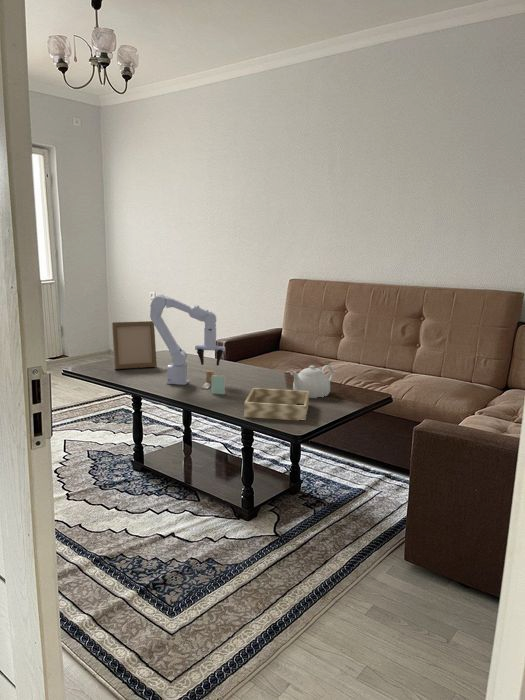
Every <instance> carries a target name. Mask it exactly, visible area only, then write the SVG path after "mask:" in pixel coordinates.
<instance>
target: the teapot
mask: <svg viewBox="0 0 525 700" xmlns="http://www.w3.org/2000/svg"><path fill="white" fill-rule="evenodd" d="M326 368H328V369H329V370H330V376H329V378H328V376H327V375H326V373H325V370H326ZM334 375H335V373H334V369H333V368H332V366H330V365H328V364H326V365H323V366H322V368H321V369H320V368H318V367H316V366H315V365H309V367H306V368H304V369H301V370H300V371H299V373H298V372H297V371H291V372H290V376H293V384H292V390H297V391H309V399H318V398H317V397H322V398H325V397H327V396H328V395H329V394H330V392H331V381H332V380H333V378H334ZM324 396H325V397H324Z"/></svg>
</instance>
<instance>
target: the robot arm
mask: <svg viewBox="0 0 525 700" xmlns="http://www.w3.org/2000/svg"><path fill="white" fill-rule="evenodd" d="M149 306H150V312H149V313H150V315H149V316H150V317H149V318H150V320H151V321H152V322H153V324H154V328H155V329H156V330H157V332H158V334H159V336H160V337H161V339H162V340H163V342H164V344H165V346H166V347H167V349H168V352H169V354H170V356H171V359H172V360H171V361H172V363H171V364H168V365H167V368H166V384H167V385H182V386H183V385H184V386H186V385H187V384H188V383H189V382H190V379H188V363H186V359H187V358H188V357H187V353H186V351H184V350H183V349H182V348H181V347H180V345H179V344H178V342H177V341H176V339H175V337H174V336H173V334H172V332H171V331H170V329H169V327H168V325H167V324H166V323H165V321H164V318H163V317H162V314H163V312H164V311H163V310H164V309H165V308H166V309H168V308H174V309H177V310H179V311H182V312H185V313H187V314H188V315H189V317H190V318H192V319H195V320H197V321H200V322H201V323H203V322H204V331H203V336H204V338H203V340H204V341H203V342H204V344H203V345H199V344H198V345H195V349H194V350H195V351H196V353H197V355H198V357H199V360H200V365H201V366H203V365H204V364H205V362H204V361H205V360H204V359H205V358H204V356H205V355H204V354H205V351H216V352H215V354H216V367H217V366H219V365H220V362H221V361H220V360H221V358H222V355H223V353H224V352H226V346H223V345H222V346H220V345H217V316H216V314H215V313H214V312H212V311H209V310H208V309H207V310H206V309H203V308H202V307H200V305H197V306H196V305H192V306H191V305H187V304H185V303H183V302H181V301H179V300H176V299H175V298H174V297H173V298H172V297H170V296H167V295H166V296H165V295H164V294H157V295H156V296H155V297H153V299H152V300H151V303H150V305H149Z"/></svg>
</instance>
